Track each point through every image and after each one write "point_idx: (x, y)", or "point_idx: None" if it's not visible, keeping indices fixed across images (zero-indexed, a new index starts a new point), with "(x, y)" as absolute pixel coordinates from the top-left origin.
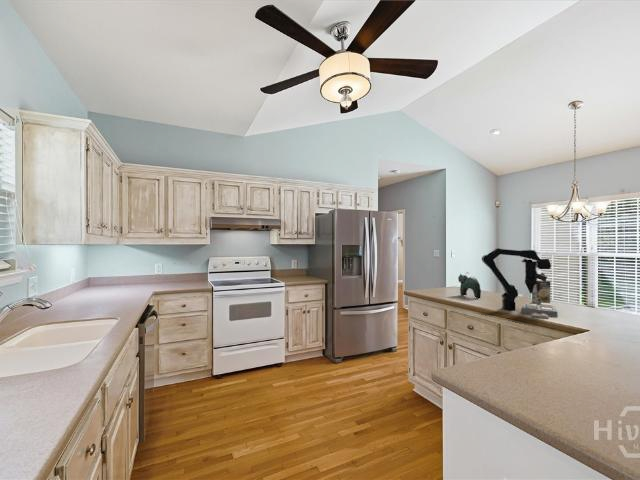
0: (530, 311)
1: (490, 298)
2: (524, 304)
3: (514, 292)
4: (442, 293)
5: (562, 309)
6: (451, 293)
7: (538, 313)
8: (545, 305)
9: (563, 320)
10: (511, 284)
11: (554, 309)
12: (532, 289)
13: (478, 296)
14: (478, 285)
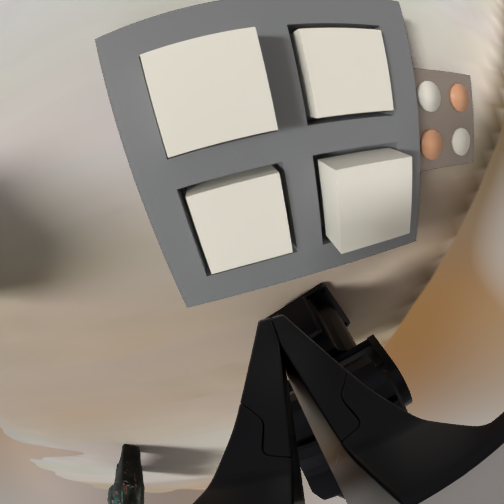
0: None
1: (77, 427)
2: (228, 283)
3: (408, 391)
4: (156, 484)
5: (4, 55)
6: None
7: None
8: (266, 85)
9: (446, 5)
10: (327, 498)
11: (313, 8)
12: (334, 363)
13: (135, 455)
14: (131, 500)
